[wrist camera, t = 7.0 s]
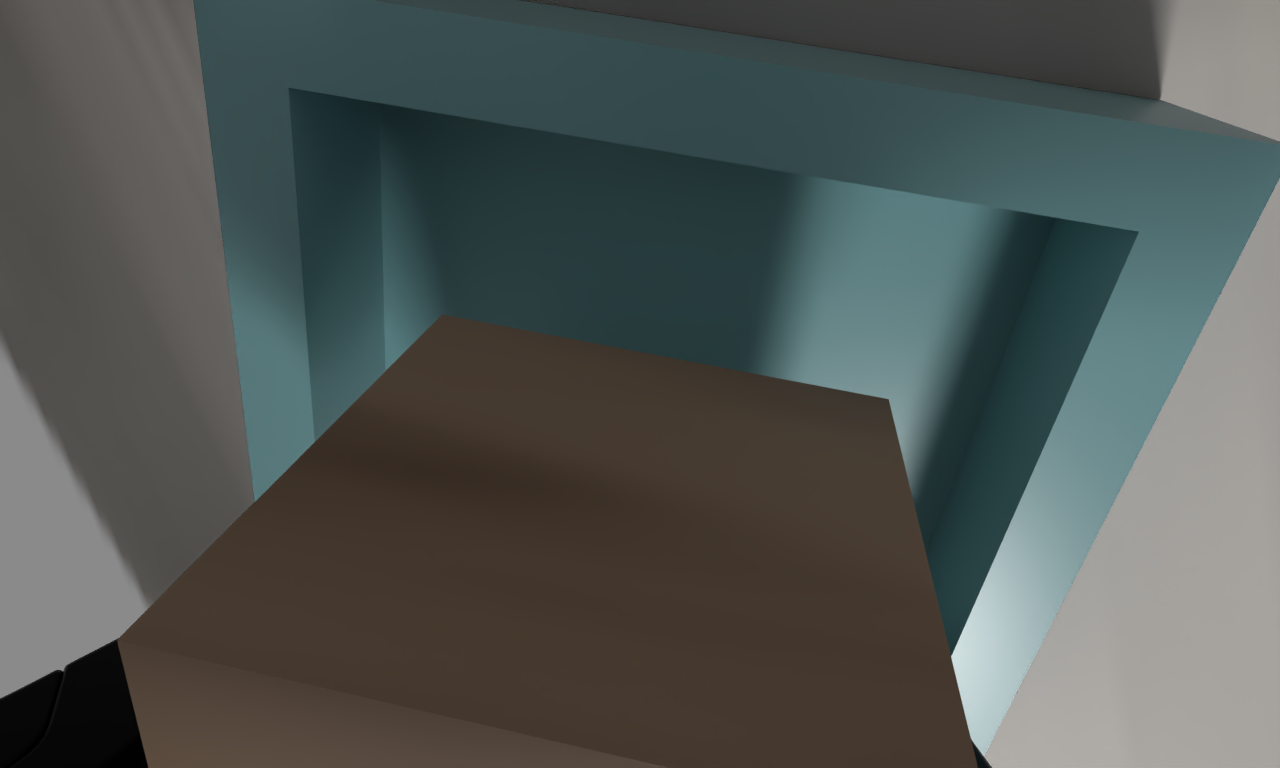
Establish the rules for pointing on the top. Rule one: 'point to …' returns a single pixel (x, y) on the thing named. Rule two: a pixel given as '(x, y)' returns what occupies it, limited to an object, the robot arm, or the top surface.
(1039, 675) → the top surface
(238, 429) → the top surface
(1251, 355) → the top surface
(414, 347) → the walnut block
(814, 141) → the tray
